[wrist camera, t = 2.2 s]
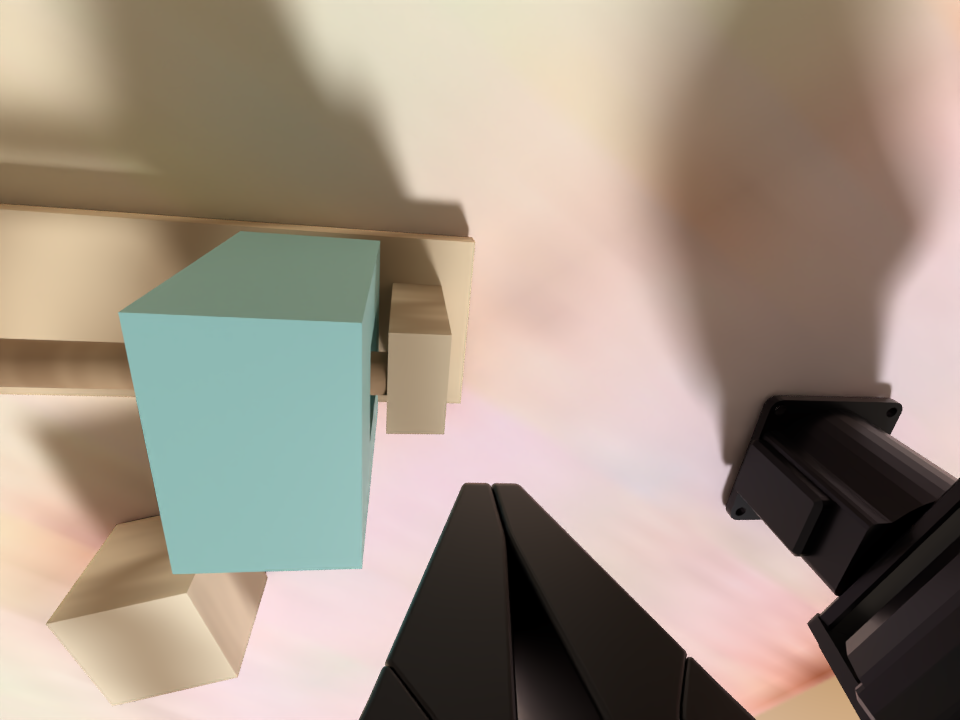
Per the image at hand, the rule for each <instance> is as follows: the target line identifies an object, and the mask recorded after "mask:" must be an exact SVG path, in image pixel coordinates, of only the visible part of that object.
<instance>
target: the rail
mask: <svg viewBox="0 0 960 720" xmlns="http://www.w3.org/2000/svg"><path fill="white" fill-rule="evenodd" d="M240 231H247V232H261V233H276V234H290V235H305V236H319V237H334V238H348V239H363V240H377V241H380V289H379V352H376V351H371V357H370V395H378V402H387V421H386V434H444V429H445V416H446V404H447V403H460V402H461V391H462V381H463V370H464V359H465V348H466V337H467V326H468V315H469V305H470V294H471V283H472V272H473V261H474V250H475V241H474V240H473V238H472V237H458V236H444V235H430V234H416V233H402V232H388V231H375V230H361V229H347V228H333V227H319V226H305V225H291V224H277V223H263V222H249V221H235V220H221V219H207V218H193V217H179V216H166V215H152V214H138V213H124V212H110V211H96V210H82V209H68V208H54V207H40V206H26V205H12V204H0V394H15V395H65V396H115V397H136V396H135V391H134V386H133V381H132V377H131V372H130V367H129V362H128V357H127V352H126V348H125V343H124V338H123V333H122V328H121V324H120V319H119V314H118V312H119V311H121V310H122V309H124V308H125V307H127V306H128V305H130V304H132V303H133V302H135V301H136V300H138V299H139V298H141V297H142V296H144V295H145V294H147V293H148V292H150V291H151V290H153V289H154V288H156V287H157V286H159V285H160V284H162V283H163V282H165V281H166V280H168V279H169V278H171V277H172V276H174V275H175V274H177V273H178V272H180V271H181V270H183V269H184V268H186V267H187V266H189V265H190V264H192V263H193V262H195V261H196V260H198V259H199V258H201V257H202V256H204V255H205V254H207V253H208V252H210V251H211V250H213V249H214V248H216V247H217V246H219V245H220V244H222V243H223V242H225V241H226V240H228V239H229V238H231V237H232V236H234V235H235V234H237V233H238V232H240Z"/></svg>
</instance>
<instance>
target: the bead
mask: <svg viewBox="0 0 960 720" xmlns="http://www.w3.org/2000/svg"><path fill="white" fill-rule="evenodd" d="M379 289H380V241H377V240H363V239H348V238H334V237H319V236H305V235H290V234H276V233H261V232H247V231H240V232H238V233H237V234H235V235H234V236H232V237H231V238H229V239H228V240H226V241H225V242H223V243H222V244H220V245H219V246H217V247H216V248H214V249H213V250H211V251H210V252H208V253H207V254H205V255H204V256H202V257H201V258H199V259H198V260H196V261H195V262H193V263H192V264H190V265H189V266H187V267H186V268H184V269H183V270H181V271H180V272H178V273H177V274H175V275H174V276H172V277H171V278H169V279H168V280H166V281H165V282H163V283H162V284H160V285H159V286H157V287H156V288H154V289H153V290H151V291H150V292H148V293H147V294H145V295H144V296H142V297H141V298H139V299H138V300H136V301H135V302H133V303H132V304H130V305H128V306H127V307H125V308H124V309H122V310H121V311H119V312H118V314H119V319H120V324H121V328H122V333H123V338H124V343H125V348H126V352H127V357H128V362H129V367H130V372H131V377H132V381H133V386H134V391H135V396H136V401H137V405H138V410H139V415H140V420H141V425H142V429H143V434H144V439H145V444H146V449H147V453H148V458H149V463H150V468H151V473H152V478H153V482H154V487H155V492H156V497H157V502H158V506H159V511H160V516H161V521H162V526H163V530H164V535H165V540H166V545H167V550H168V555H169V559H170V564H171V569H172V574H200V573H233V572H266V571H299V570H331V569H362V562H363V552H364V542H365V532H366V522H367V512H368V502H369V492H370V482H371V472H372V462H373V453H374V443H375V433H376V423H377V413H378V395H370V357H371V351H376V352H379Z"/></svg>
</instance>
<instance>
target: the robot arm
mask: <svg viewBox="0 0 960 720" xmlns="http://www.w3.org/2000/svg"><path fill="white" fill-rule="evenodd" d="M778 406H779V407H778ZM777 407H778V409H776V408H777ZM775 409H776V410H775ZM901 412H902V405H901V404H900V403H898V402H897V401H895V400H893V399H890V398H863V397H823V396H783V395H777V396H773V397H771V398H769V399H768V400H767V401H766V402H765V404H764V406H763V409H762V412H761V414H760V417H759V420H758V422H757V425H756V428H755V430H754V433H753V436H752V438H751V441H750V444H749V446H748V449H747V452H746V454H745V457H744V460H743V462H742V465H741V468H740V470H739V473H738V476H737V478H736V481H735V484H734V486H733V489H732V492H731V494H730V497H729V500H728V502H727V505H726V511H727V513H728V514H729V515H730V516H731V518H733V519H735V520H763V521H764V523H765V524H766V525H767V526H768V527H769V528H770V529H771V530H772V532H773V533H774V534H775V535H776V536H777V537H778V538H779V539H780V541H781V542H782V543H783V544H784V545H785V546H786V547H787V548H788V550H789V551H790V552H791V553H792V554H793V555H794V556H801V557H802V558H803V560H804V561H805V562H806V563H807V564H808V565H809V566H810V567H811V568H812V570H813V571H814V572H815V573H816V574H817V575H818V576H819V577H820V578H821V579H822V581H823V582H824V583H825V584H826V585H827V586H828V587H829V588H830V589H831V591H832V592H833V593H834V594H835V595H836V596H838V597H837V598H836V599H835V600H834V601H833V602H832V603H831V604H830V605H829V606H828V607H827V608H826V609H825V610H824V611H823V612H822V613H821V614H819V613H817V614H816V615H815V616H814V617H813V618H812V619H811V620H810V621H809V622H808V623H807V624H808V626H809V628H810V630H811V631H812V633H813V635H814V637H815V639H816V640H817V642H818V644H819V647H820V649H821V651H822V653H823V654H824V656H825V658H826V660H827V661H828V663H829V665H830V667H831V668H832V670H833V672H834V674H835V675H836V677H837V679H838V681H839V683H840V684H841V686H842V688H843V690H844V691H845V693H846V695H847V696H848V698H849V700H850V702H851V704H852V705H853V707H854V709H855V710H856V713H857V714H858V716H859V718H860V719H861V720H960V478H959V479H957V478H955V477H954V476H952V475H950V474H949V473H947V472H946V471H944V470H943V469H941V468H940V467H938V466H937V465H935V464H934V463H932V462H931V461H929V460H927V459H926V458H924V457H923V456H921V455H920V454H918V453H917V452H915V451H914V450H912V449H911V448H909V447H907V446H906V445H904V444H903V443H901V442H900V441H898V440H897V439H895V438H894V437H892V436H891V435H890V434H891V432H892V430H893V428H894V426H895V424H896V422H897V420H898V418H899V416H900V414H901ZM686 657H687V654H686V651H685V650H684V649H683V648H682V647H681V646H680V645H679V644H678V643H677V642H676V641H675V640H674V639H673V638H672V637H671V636H670V635H669V634H668V633H667V632H666V631H665V630H664V629H663V628H662V627H661V626H660V625H659V624H658V623H657V622H656V621H655V620H654V619H653V618H652V617H651V616H650V615H649V614H648V613H647V612H646V611H645V610H644V609H643V608H642V607H641V606H640V605H639V604H638V603H637V602H636V601H635V600H634V599H633V598H632V597H631V596H630V595H629V594H628V593H627V592H626V591H625V590H624V589H623V588H622V587H621V586H620V585H619V584H618V583H617V582H616V581H615V580H614V579H613V578H612V577H611V576H610V575H609V574H608V573H607V572H606V571H605V570H604V569H603V568H602V567H601V566H600V565H599V564H598V563H597V562H596V561H595V560H594V559H593V558H592V557H591V556H590V555H589V554H588V553H587V552H586V551H585V550H584V549H583V548H582V547H581V546H580V545H579V544H578V543H577V542H576V541H575V540H574V539H573V538H572V537H571V536H570V535H569V534H568V533H567V532H566V531H565V530H564V529H563V528H562V527H561V526H560V525H559V524H558V523H557V522H556V521H555V520H554V519H553V518H552V517H551V516H550V515H549V514H548V513H547V512H546V511H545V510H544V509H543V508H542V507H541V506H540V505H539V504H538V503H537V502H536V501H535V500H534V499H533V498H532V497H531V496H530V495H529V494H528V493H527V492H526V491H525V490H524V489H523V488H522V487H521V486H520V485H518V484H513V483H495V484H493V485H492V486H490V485H489V484H488V483H465V484H463V486H462V487H461V490H460V492H459V494H458V497H457V499H456V501H455V504H454V506H453V508H452V510H451V513H450V515H449V517H448V520H447V522H446V524H445V526H444V529H443V531H442V533H441V536H440V538H439V540H438V543H437V545H436V547H435V549H434V552H433V554H432V556H431V559H430V561H429V563H428V565H427V568H426V570H425V572H424V575H423V577H422V579H421V582H420V584H419V586H418V588H417V591H416V593H415V595H414V598H413V600H412V602H411V604H410V607H409V609H408V611H407V614H406V616H405V618H404V621H403V623H402V625H401V627H400V630H399V632H398V634H397V637H396V639H395V641H394V643H393V646H392V648H391V650H390V653H389V655H388V657H387V660H386V662H385V667H383V668H382V670H381V672H380V675H379V677H378V679H377V681H376V684H375V686H374V688H373V691H372V693H371V695H370V697H369V700H368V702H367V704H366V706H365V708H364V710H363V712H362V714H361V716H360V718H359V720H756V719H755V718H754V717H753V716H752V715H751V714H750V713H749V712H747V711H746V710H745V709H744V708H743V707H742V706H741V705H740V704H739V703H738V702H737V701H736V700H735V699H734V698H733V697H732V696H731V695H730V694H729V693H728V692H727V691H726V690H725V689H724V688H723V687H721V686H720V685H719V684H718V683H717V682H716V681H715V680H714V679H713V678H712V677H711V676H710V675H709V674H708V673H707V672H706V671H705V670H704V669H703V668H702V667H701V666H700V665H699V664H698V663H697V662H696V661H695V660H694V659H693V658H692V657H688V658H687V659H686Z"/></svg>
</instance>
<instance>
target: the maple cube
mask: <svg viewBox="0 0 960 720" xmlns="http://www.w3.org/2000/svg"><path fill="white" fill-rule="evenodd" d="M266 581H267V576H266V574H265V572H233V573H200V574H172V569H171V564H170V559H169V555H168V550H167V545H166V540H165V535H164V530H163V526H162V521H161V516H160V515H159V516H155V517H150V518H145V519H141V520H136V521H131V522H127V523H122V524H117V525H116V527H115V528H114V529H113V531H112V532H111V534H110V535H109V536H108V538H107V539H106V541H105V542H104V543H103V545H102V546H101V548H100V549H99V550H98V552H97V553H96V555H95V556H94V557H93V559H92V560H91V562H90V563H89V564H88V566H87V567H86V569H85V570H84V571H83V573H82V574H81V576H80V577H79V578H78V580H77V581H76V583H75V584H74V585H73V587H72V588H71V590H70V591H69V592H68V594H67V595H66V597H65V598H64V599H63V601H62V602H61V604H60V605H59V606H58V608H57V609H56V611H55V612H54V613H53V615H52V616H51V618H50V619H49V620H48V622H47V623H46V625H47V626H48V628H49V629H50V630H51V631H52V633H53V634H54V635H55V636H56V637H57V639H58V640H59V641H60V642H61V644H62V645H63V646H64V647H65V648H66V650H67V651H68V652H69V653H70V655H71V656H72V657H73V658H74V660H75V661H76V662H77V663H78V664H79V666H80V667H81V668H82V669H83V671H84V672H85V673H86V674H87V675H88V677H89V678H90V679H91V680H92V682H93V683H94V684H95V685H96V687H97V688H98V689H99V690H100V691H101V693H102V694H103V695H104V696H105V698H106V699H107V700H108V701H109V702H110V704H111V705H112V706H116V705H120V704H124V703H129V702H133V701H137V700H142V699H146V698H150V697H155V696H159V695H163V694H168V693H172V692H176V691H181V690H185V689H189V688H194V687H198V686H202V685H207V684H211V683H215V682H220V681H224V680H228V679H233V678H237V677H238V674H239V671H240V668H241V664H242V661H243V658H244V655H245V651H246V648H247V645H248V641H249V638H250V635H251V631H252V628H253V625H254V621H255V618H256V615H257V611H258V608H259V605H260V601H261V598H262V595H263V591H264V588H265V585H266Z"/></svg>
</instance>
